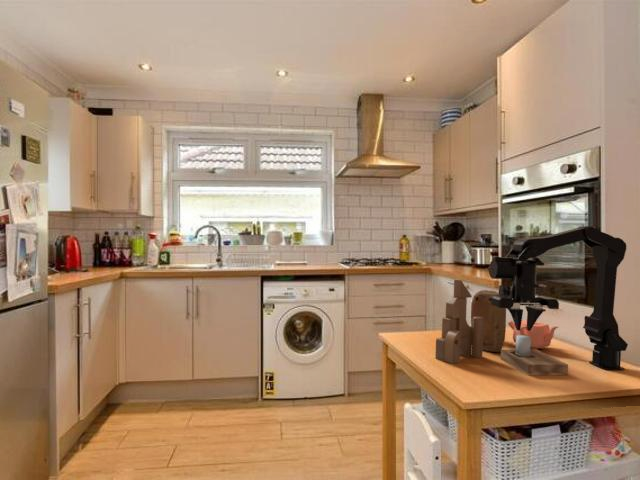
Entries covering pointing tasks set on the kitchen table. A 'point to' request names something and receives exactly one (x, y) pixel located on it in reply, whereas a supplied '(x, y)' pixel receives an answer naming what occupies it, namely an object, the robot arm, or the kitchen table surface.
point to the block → (489, 320)
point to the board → (535, 363)
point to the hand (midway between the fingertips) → (523, 330)
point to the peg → (523, 346)
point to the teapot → (535, 334)
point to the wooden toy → (459, 329)
